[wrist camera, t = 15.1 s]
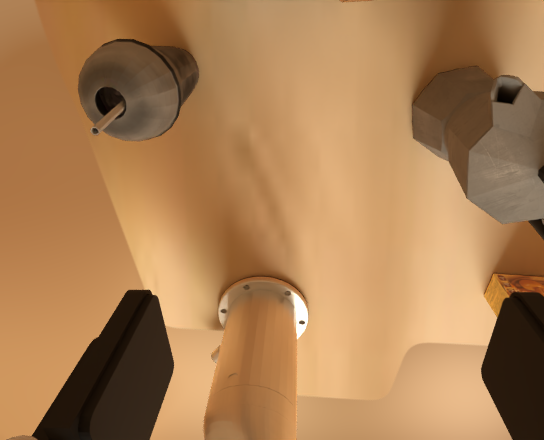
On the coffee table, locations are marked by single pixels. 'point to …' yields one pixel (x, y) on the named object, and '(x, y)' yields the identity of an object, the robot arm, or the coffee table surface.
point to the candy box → (510, 288)
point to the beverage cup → (135, 88)
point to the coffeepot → (488, 140)
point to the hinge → (353, 0)
